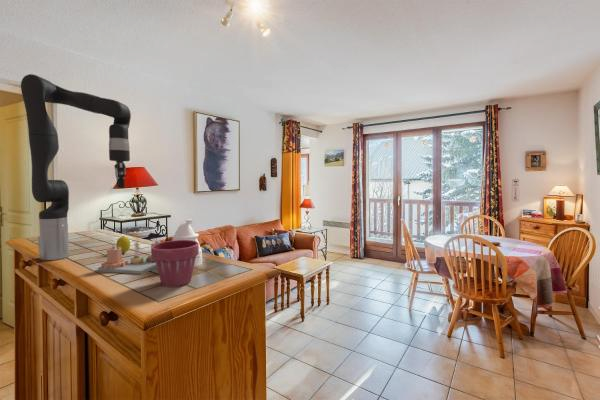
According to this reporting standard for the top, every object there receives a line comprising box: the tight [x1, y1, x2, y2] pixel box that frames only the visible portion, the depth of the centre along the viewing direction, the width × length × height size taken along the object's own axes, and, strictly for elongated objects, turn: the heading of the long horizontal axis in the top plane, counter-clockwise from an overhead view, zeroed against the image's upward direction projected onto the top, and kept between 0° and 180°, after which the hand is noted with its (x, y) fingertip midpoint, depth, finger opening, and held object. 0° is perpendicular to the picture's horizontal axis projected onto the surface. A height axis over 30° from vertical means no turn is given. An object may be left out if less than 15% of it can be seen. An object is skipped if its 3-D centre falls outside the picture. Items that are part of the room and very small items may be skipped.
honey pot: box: [171, 218, 203, 268], centre depth 119 cm, size 13×13×18 cm
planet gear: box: [100, 247, 128, 269], centre depth 112 cm, size 8×8×6 cm
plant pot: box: [150, 240, 200, 288], centre depth 98 cm, size 14×14×13 cm
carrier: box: [97, 240, 161, 275], centre depth 117 cm, size 18×18×9 cm
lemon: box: [115, 235, 131, 254], centre depth 136 cm, size 6×6×8 cm
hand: (120, 187), depth 129 cm, fingers open, 8 cm apart
